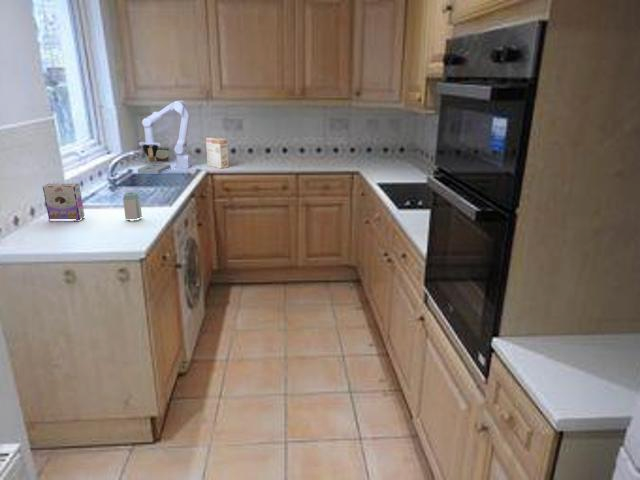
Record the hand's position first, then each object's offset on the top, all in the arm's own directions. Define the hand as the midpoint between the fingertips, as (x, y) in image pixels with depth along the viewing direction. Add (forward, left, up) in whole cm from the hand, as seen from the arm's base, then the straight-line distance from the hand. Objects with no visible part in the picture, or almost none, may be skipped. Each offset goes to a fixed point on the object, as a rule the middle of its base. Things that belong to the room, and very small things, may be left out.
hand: (151, 156), depth 334 cm
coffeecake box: (-44, -9, -7) cm, 45 cm away
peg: (0, 0, -3) cm, 3 cm away
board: (-8, +13, -7) cm, 17 cm away
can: (-49, +116, -7) cm, 126 cm away
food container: (+1, -20, -7) cm, 21 cm away
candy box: (-20, +122, -7) cm, 124 cm away
